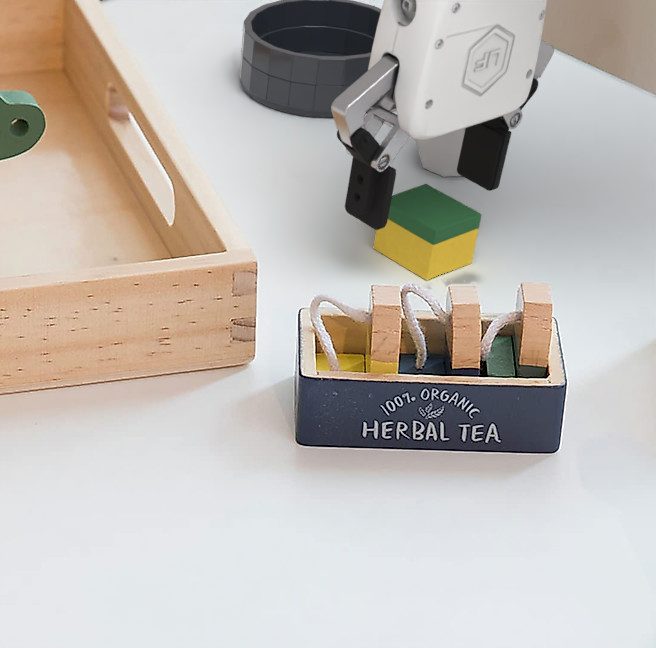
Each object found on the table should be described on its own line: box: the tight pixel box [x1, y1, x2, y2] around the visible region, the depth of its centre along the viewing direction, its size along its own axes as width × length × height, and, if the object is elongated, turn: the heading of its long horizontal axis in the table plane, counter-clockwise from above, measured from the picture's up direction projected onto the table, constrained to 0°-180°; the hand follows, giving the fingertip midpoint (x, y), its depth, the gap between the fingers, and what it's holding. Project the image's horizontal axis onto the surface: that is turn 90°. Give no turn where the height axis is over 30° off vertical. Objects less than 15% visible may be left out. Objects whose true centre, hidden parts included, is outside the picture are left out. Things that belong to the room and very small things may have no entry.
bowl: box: [239, 0, 382, 118], centre depth 117 cm, size 12×12×5 cm
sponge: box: [372, 183, 482, 281], centre depth 98 cm, size 4×5×4 cm
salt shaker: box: [413, 128, 466, 178], centre depth 104 cm, size 6×6×13 cm
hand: (421, 200), depth 97 cm, fingers open, 9 cm apart
